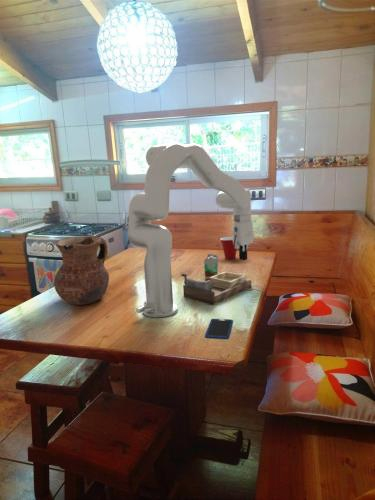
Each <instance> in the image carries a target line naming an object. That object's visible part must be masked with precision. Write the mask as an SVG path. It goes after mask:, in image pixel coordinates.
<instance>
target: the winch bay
mask: <svg viewBox="0 0 375 500" xmlns="http://www.w3.org/2000/svg"><path fill="white" fill-rule="evenodd" d="M187 275H188V274H186V273H181V277H184V280H183V283H184V284H182V285H183V286H182V287H183V297H184V298H186V299H189V300H193V301H196V302H200V303H204V304H208V305H210V306H214V305H216V304H218V303H220V302H222V301H226V300H227V299H229V298H231V297H233V296H235V295H238V294H240V293H241V292H245V291H246V290H249V289H251V288H252V280H251V279H248V280H246V281H245V282H243V283H241V284H238V285H236V286H234V287H232V288H229V289H223V288H219V287H214V286H213V285H212V284H211V283H210V280H205V281H202V280H196V279H193V278H190V277H189V278H188V277H187Z"/></svg>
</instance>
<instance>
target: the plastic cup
mask: <svg viewBox="0 0 375 500" xmlns="http://www.w3.org/2000/svg"><path fill="white" fill-rule="evenodd" d="M219 240H220V242H221V245H222V250H223V254H224V258H225V259H226V260H234V259H236V257H237V251H238V249H237V248H235V245H234V244H233V236H227V237H221V238H220V239H219Z"/></svg>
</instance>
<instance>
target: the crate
mask: <svg viewBox="0 0 375 500" xmlns="http://www.w3.org/2000/svg"><path fill="white" fill-rule="evenodd" d="M209 279H210V283H211V284H212V285H213V286H214V287H219V288H223V289H229V288H232V287H234V286H236V285H238V284H241V283H243V282H245V281H247V275H244V274H241V273H234V272H230V271H223V272H220V273H217V275H215V276H212V277H210V278H209Z"/></svg>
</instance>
